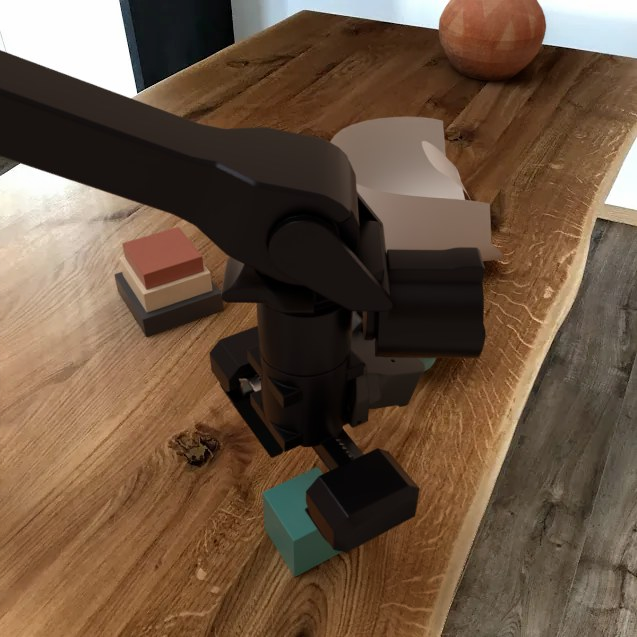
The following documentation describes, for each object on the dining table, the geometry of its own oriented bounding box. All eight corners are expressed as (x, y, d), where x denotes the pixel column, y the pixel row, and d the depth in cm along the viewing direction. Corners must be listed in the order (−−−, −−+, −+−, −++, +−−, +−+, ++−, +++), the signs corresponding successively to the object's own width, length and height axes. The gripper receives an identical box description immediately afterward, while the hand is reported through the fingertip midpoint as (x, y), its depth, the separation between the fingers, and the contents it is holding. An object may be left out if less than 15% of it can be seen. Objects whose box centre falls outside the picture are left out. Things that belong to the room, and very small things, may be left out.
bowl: (317, 200, 98) (318, 118, 91) (456, 192, 100) (469, 111, 92) (339, 292, 83) (342, 203, 76) (502, 281, 85) (521, 192, 77)
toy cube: (294, 577, 56) (293, 541, 53) (264, 529, 60) (261, 492, 56) (349, 548, 58) (351, 511, 55) (317, 503, 62) (317, 465, 58)
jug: (423, 79, 129) (436, -42, 116) (446, 45, 142) (460, -69, 129) (528, 96, 125) (554, -30, 112) (542, 58, 137) (567, -58, 124)
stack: (146, 337, 77) (135, 285, 73) (117, 291, 83) (106, 240, 78) (223, 310, 81) (218, 258, 76) (191, 267, 87) (184, 217, 82)
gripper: (506, 391, 42) (467, 542, 52) (336, 234, 54) (331, 381, 65) (343, 470, 38) (335, 618, 48) (197, 279, 50) (216, 430, 60)
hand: (305, 496), depth 55 cm, fingers open, 9 cm apart
